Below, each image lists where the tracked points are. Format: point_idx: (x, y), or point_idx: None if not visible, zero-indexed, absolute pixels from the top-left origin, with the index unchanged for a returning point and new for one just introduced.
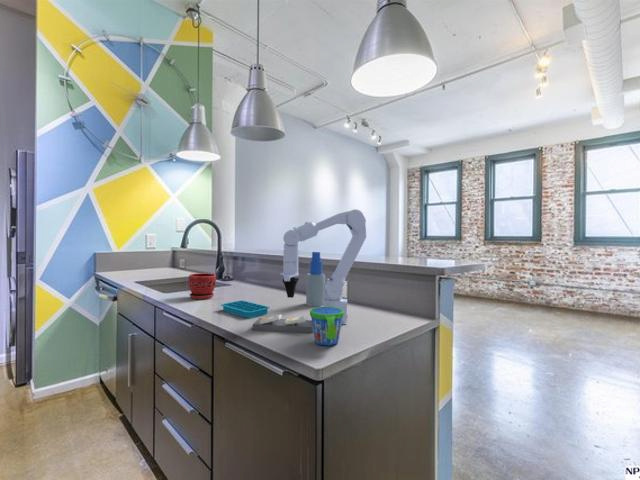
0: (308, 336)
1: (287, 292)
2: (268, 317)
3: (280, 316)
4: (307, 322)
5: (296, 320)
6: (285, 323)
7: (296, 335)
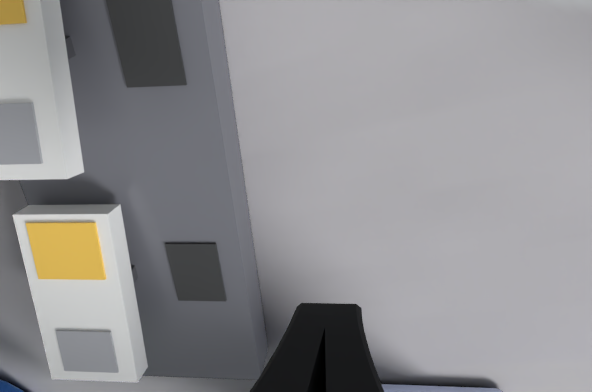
0: (35, 330)
1: (275, 370)
2: (13, 23)
3: (34, 176)
4: (186, 340)
5: (38, 313)
6: (24, 210)
7: (15, 264)
